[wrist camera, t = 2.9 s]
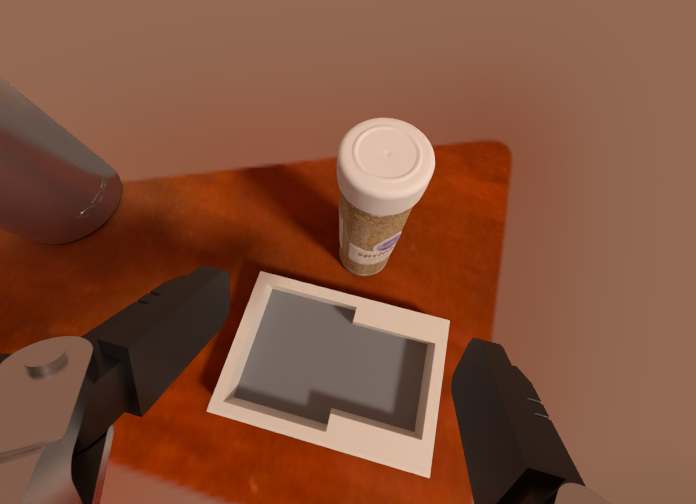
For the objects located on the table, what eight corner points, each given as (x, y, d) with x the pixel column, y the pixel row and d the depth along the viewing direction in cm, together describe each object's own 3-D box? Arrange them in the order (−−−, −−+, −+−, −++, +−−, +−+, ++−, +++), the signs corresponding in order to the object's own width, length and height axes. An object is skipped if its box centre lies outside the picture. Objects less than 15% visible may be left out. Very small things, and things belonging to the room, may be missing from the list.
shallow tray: (221, 404, 21) (206, 411, 18) (268, 278, 24) (260, 270, 22) (419, 463, 20) (429, 478, 17) (438, 323, 23) (449, 320, 21)
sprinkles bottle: (365, 287, 24) (393, 216, 11) (328, 253, 25) (314, 152, 12) (399, 251, 25) (458, 150, 12) (362, 220, 26) (381, 97, 13)
